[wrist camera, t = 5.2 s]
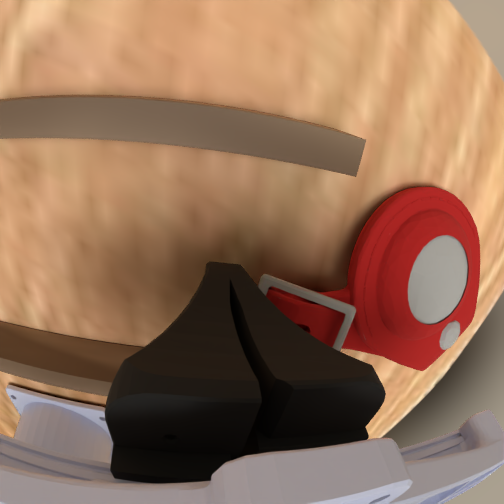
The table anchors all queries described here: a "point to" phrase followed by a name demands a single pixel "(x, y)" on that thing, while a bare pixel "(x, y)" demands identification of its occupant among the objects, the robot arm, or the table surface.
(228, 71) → the table surface
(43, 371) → the frame
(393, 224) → the tracker holder
